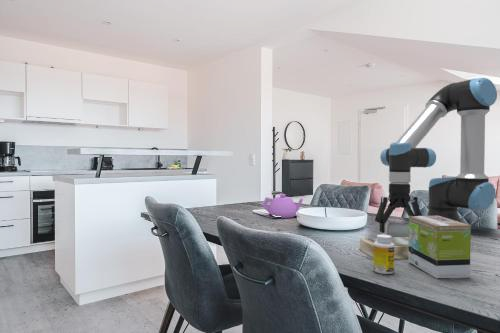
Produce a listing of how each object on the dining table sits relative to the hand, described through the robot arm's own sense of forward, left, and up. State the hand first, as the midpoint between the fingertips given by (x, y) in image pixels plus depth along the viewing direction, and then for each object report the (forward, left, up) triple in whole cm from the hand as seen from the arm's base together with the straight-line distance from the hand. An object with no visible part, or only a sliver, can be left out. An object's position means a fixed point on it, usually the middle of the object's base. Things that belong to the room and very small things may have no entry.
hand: (398, 240), depth 138 cm
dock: (+11, +15, -1) cm, 19 cm away
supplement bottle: (+24, +32, -1) cm, 40 cm away
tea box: (+8, +33, -1) cm, 34 cm away
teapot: (+29, -65, -1) cm, 71 cm away
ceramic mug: (-1, -1, -1) cm, 1 cm away
